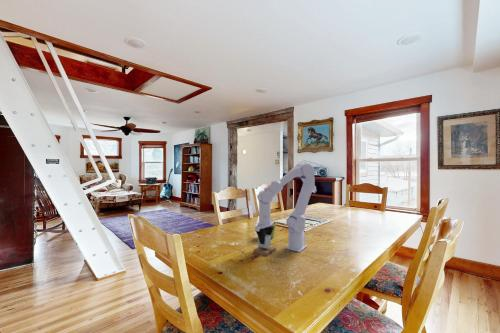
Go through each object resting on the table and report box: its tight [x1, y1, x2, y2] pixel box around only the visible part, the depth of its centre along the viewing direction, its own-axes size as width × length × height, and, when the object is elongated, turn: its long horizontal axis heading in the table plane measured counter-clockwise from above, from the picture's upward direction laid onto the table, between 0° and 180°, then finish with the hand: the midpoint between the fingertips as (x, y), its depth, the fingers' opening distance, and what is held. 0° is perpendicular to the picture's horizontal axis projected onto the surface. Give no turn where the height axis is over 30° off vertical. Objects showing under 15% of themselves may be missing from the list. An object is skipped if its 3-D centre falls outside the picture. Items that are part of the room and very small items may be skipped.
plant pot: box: [263, 221, 277, 240], centre depth 135 cm, size 9×9×9 cm
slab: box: [253, 245, 277, 257], centre depth 114 cm, size 8×8×2 cm
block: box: [257, 234, 272, 248], centre depth 114 cm, size 5×5×5 cm
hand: (264, 242), depth 114 cm, fingers closed on block, 4 cm apart
